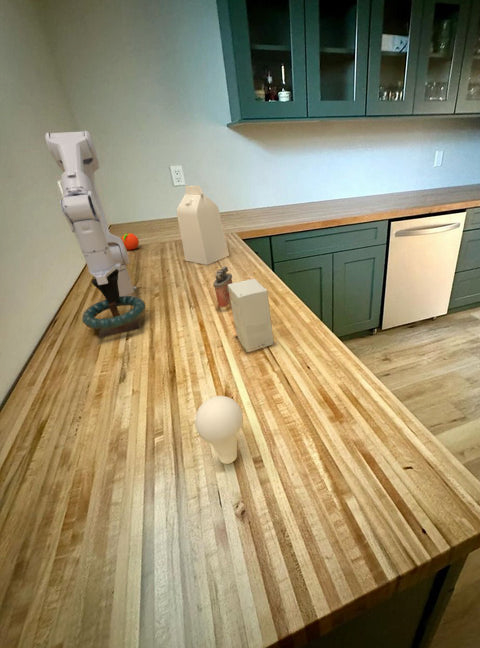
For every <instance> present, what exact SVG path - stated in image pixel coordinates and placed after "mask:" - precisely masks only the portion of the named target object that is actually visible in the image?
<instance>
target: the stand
mask: <svg viewBox="0 0 480 648" xmlns="http://www.w3.org/2000/svg"><path fill="white" fill-rule="evenodd" d="M108 306H109V308H110V309H109V311H110V314H111V316H112V317H116V316H119V315H121V314H120V311H119V308H118V307H117V306H116V303H115V302H111V303H109V304H108ZM135 330H140V317H139V318H137V319H136V320H134V321H132V322H130V323H128V324H125V325H123V326H120V327H115V328H111V329H99V332H98V333H99V334H98V339H102V338H106V337H111V336H115V335H119V334H123V333H126V332H127V333H128V332H132V331H135Z"/></svg>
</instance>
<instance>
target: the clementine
mask: <svg viewBox="0 0 480 648" xmlns="http://www.w3.org/2000/svg"><path fill="white" fill-rule="evenodd" d="M120 238H121V240H123V243H124V246H125V248H126V250H129V251H133V250H135V249H137V248H138V246H139V245H140V244H139V243H140V240H139V238H138V236H136V235H135V234H133V233H130V232H129V233H128V232H127V233H124V234H123V235H122V236H121V237H120Z"/></svg>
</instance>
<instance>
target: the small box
mask: <svg viewBox="0 0 480 648" xmlns="http://www.w3.org/2000/svg"><path fill="white" fill-rule="evenodd" d="M228 290H229V296H230V301H231V302H230V306H231V313H232V318H233V324H234V330H235V334H236V338H237V339H238V341H239V342H240V344H241V346H242V347H243V349H244V350H245V352H246V353H251V352H254V351H257V350H260V349H264V348H267V347H270V346H273V345H274V344H275V341H274V334H273V326H272V318H271V317H272V316H271V310H270V309H271V308H270V301H269V299H270V298H269V292H268V291H269V290H268V289H267V288H265V287H264V286H263V285H262V284H261V283H260V282H259V281H258V280H257V279H256V278H250V279H246V280H241V281H236V282H232V283H231V284H228Z"/></svg>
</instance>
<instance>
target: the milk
mask: <svg viewBox="0 0 480 648" xmlns="http://www.w3.org/2000/svg"><path fill="white" fill-rule="evenodd" d="M184 188H185V189H184V196H183V197H182V199H181V200H180V202H179V203H178V206H177V207H176V217H177V222H178V223H177V224H178V228H179V233H180V239H181V245H182V250H183V255H184V261H185V262H190V263H194V264H195V263H196V264H200V265H201V264H202V265H206V266H209V265H211V264H213V263H216V262H219V261H220V260H222V259H225V258H227V257H229V256H230V253H229V247H228V245H227V240H226V235H225V232H224V226H223V222H222V217H221V213H220V210H219V206H218V205H217V204H216V203H215V202H214V201H213V200H211V198H209V197H208V196H207V195H206V194H205V193H204V191H203V190H202V187H201V185H185V187H184Z"/></svg>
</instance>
